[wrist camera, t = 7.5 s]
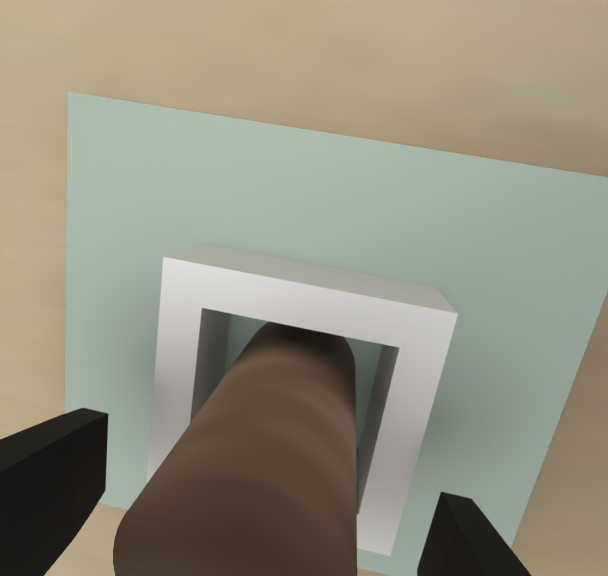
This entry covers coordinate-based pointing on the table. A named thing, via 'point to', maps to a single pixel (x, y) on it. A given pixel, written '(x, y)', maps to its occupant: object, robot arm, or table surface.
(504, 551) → the robot arm
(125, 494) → the socket board
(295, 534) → the walnut peg
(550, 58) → the table surface
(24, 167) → the table surface
